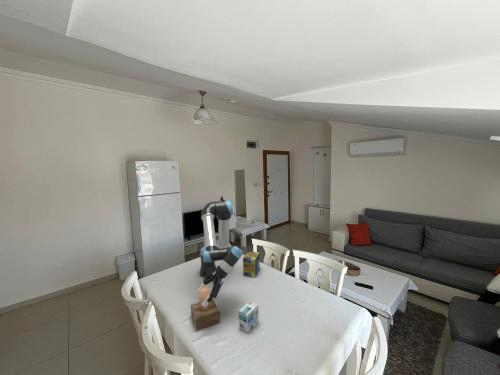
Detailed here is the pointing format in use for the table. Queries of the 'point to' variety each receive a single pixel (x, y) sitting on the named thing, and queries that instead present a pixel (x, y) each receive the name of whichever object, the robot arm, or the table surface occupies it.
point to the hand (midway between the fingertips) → (200, 299)
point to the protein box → (251, 264)
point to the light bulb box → (248, 316)
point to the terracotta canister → (204, 297)
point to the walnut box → (205, 315)
